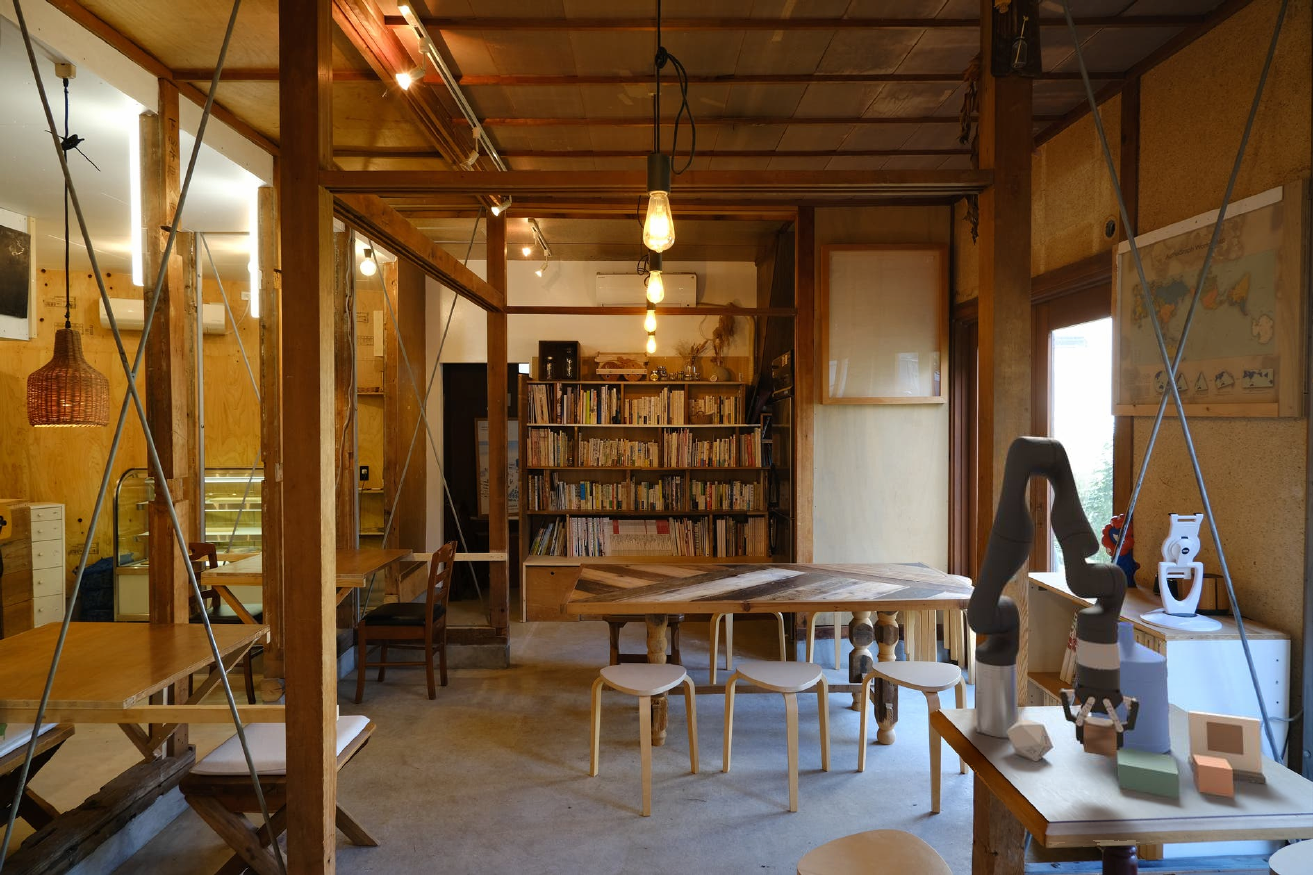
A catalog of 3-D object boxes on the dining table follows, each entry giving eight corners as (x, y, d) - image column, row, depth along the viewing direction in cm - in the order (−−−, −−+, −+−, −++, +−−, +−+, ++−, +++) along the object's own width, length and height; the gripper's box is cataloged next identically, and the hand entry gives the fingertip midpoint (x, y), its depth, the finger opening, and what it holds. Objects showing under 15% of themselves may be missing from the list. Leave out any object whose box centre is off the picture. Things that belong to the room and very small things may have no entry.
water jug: (1186, 749, 163) (1181, 627, 164) (1140, 761, 158) (1135, 634, 158) (1120, 726, 178) (1116, 613, 179) (1076, 736, 172) (1072, 620, 173)
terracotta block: (1199, 791, 143) (1198, 764, 144) (1193, 780, 148) (1192, 754, 148) (1233, 797, 141) (1232, 769, 141) (1226, 785, 146) (1225, 758, 146)
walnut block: (1084, 752, 142) (1083, 724, 143) (1082, 741, 147) (1082, 715, 147) (1116, 757, 140) (1116, 729, 140) (1114, 746, 145) (1113, 719, 145)
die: (1017, 766, 158) (1046, 736, 155) (992, 734, 165) (1019, 705, 162) (1039, 772, 161) (1068, 743, 158) (1014, 741, 168) (1040, 712, 166)
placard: (1193, 772, 152) (1191, 715, 152) (1188, 761, 157) (1186, 707, 157) (1265, 783, 146) (1263, 724, 146) (1257, 772, 151) (1255, 715, 152)
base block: (1119, 788, 146) (1118, 763, 146) (1117, 769, 154) (1116, 746, 155) (1179, 799, 141) (1178, 774, 141) (1173, 779, 149) (1173, 755, 149)
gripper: (1137, 661, 144) (1139, 745, 144) (1056, 652, 150) (1057, 732, 150) (1143, 672, 137) (1144, 760, 137) (1057, 662, 144) (1058, 746, 144)
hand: (1099, 745), depth 144 cm, fingers closed on walnut block, 5 cm apart
